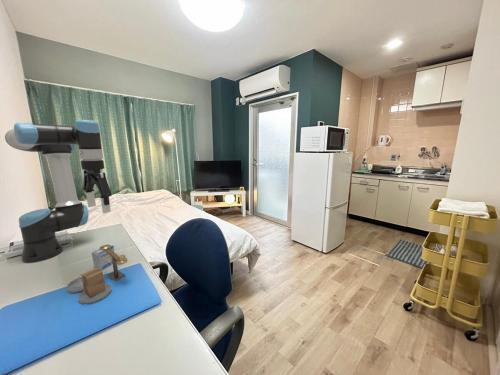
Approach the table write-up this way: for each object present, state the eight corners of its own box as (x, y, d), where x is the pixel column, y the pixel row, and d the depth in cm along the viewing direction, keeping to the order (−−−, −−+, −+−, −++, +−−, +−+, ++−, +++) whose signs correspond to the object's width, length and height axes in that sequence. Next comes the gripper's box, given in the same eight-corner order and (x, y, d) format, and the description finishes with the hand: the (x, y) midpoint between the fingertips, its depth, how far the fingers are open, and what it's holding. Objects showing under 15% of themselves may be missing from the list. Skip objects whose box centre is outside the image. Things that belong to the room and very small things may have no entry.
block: (84, 293, 78) (81, 274, 77) (99, 285, 82) (96, 267, 81) (90, 298, 76) (87, 278, 74) (105, 290, 80) (102, 271, 78)
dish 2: (74, 297, 78) (73, 294, 77) (103, 283, 86) (103, 280, 86) (86, 308, 73) (85, 305, 72) (116, 291, 81) (116, 288, 81)
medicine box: (102, 270, 95) (99, 253, 93) (93, 269, 96) (91, 252, 94) (116, 261, 102) (113, 245, 101) (108, 260, 103) (106, 244, 101)
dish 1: (62, 287, 83) (61, 284, 83) (91, 274, 92) (90, 271, 91) (73, 296, 78) (72, 293, 78) (102, 282, 86) (102, 279, 86)
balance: (102, 273, 93) (98, 247, 90) (111, 268, 96) (108, 243, 94) (122, 285, 84) (118, 258, 82) (131, 280, 88) (128, 253, 85)
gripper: (68, 158, 88) (76, 206, 93) (95, 162, 75) (103, 217, 80) (89, 157, 94) (95, 202, 99) (117, 161, 81) (123, 212, 86)
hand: (99, 209), depth 89 cm, fingers open, 13 cm apart
